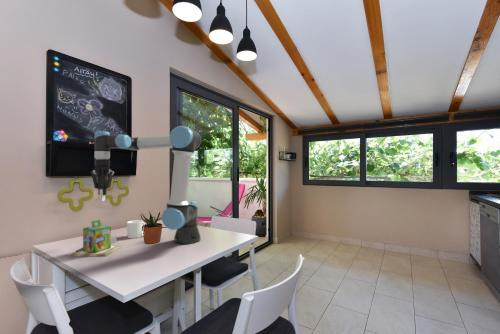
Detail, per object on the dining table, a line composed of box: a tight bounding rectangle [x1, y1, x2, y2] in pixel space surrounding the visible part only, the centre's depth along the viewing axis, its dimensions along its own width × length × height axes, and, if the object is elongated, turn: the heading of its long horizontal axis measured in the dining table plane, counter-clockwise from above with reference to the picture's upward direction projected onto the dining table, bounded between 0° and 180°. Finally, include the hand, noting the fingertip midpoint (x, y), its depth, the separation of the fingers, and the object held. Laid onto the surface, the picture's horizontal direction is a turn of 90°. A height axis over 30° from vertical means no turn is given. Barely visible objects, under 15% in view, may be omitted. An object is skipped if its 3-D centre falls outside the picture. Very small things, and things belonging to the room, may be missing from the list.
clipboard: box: [69, 245, 122, 257], centre depth 127 cm, size 18×13×1 cm
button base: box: [111, 236, 117, 245], centre depth 139 cm, size 10×10×3 cm
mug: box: [126, 219, 146, 239], centre depth 155 cm, size 12×9×9 cm
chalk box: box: [82, 219, 112, 253], centre depth 127 cm, size 9×9×15 cm
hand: (102, 200), depth 139 cm, fingers closed
